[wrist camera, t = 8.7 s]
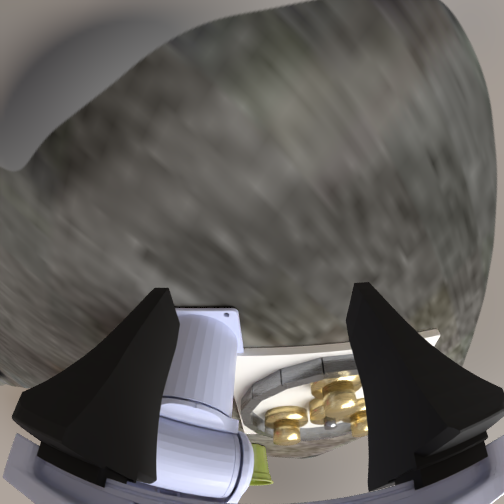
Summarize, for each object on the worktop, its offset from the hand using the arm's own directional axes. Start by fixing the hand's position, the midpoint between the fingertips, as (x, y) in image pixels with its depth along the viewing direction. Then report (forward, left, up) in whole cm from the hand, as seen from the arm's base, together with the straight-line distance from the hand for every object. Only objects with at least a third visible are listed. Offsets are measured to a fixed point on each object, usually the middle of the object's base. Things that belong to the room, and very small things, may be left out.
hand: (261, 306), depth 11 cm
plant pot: (-5, -51, -10) cm, 52 cm away
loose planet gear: (+7, -20, -9) cm, 23 cm away
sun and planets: (+7, -29, -9) cm, 31 cm away
